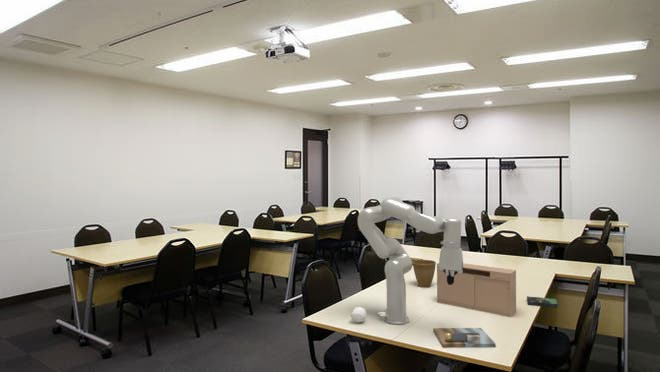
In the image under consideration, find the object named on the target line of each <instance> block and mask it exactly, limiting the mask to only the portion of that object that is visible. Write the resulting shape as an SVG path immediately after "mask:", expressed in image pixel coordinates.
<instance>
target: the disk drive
mask: <svg viewBox="0 0 660 372" xmlns="http://www.w3.org/2000/svg"><path fill="white" fill-rule="evenodd" d="M526 302H527V306H531V307H532V306H534V307H545V308H552V309H554V308H555V309H558V308H559V304H558V301H557V299H556V298H549V297H548V298H547V297H537V296H528V295H527V296H526Z"/></svg>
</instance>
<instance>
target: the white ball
mask: <svg viewBox="0 0 660 372" xmlns="http://www.w3.org/2000/svg"><path fill="white" fill-rule="evenodd" d="M367 314H368V313H367V311H366V308H365V307H361V306H356V307H354V308H353V311H352V312H350V318H351V320H352V321H353V322H355V323H357V322H358V324H359V322H361V323H363V322H364V321H365V320H366V319H367Z"/></svg>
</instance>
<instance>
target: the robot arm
mask: <svg viewBox="0 0 660 372" xmlns="http://www.w3.org/2000/svg"><path fill="white" fill-rule="evenodd" d="M389 218H395V219H397V220H400V221H403V222H405V223H407V225H410V226H411V227H412V228H413V229H414V228H415V229H416V230H418V231H421V232H425V233H427V234H430V235H431V234H432V235H433V234H437V233H441V232H443V240H441V241H440V245H442V246H441V248H440V252H439V258H438V263H439V270H441V271H444V273H445V274H446V276H447V282H448V285H449V284H450V285H452V284H453V283H454V276H455V275H456V274H459V273H463V270H462V268H463V263H464V257H463V256H464V255H463V249H462V248H461V241H462V240H461V239H462V236H461V235H462V220H461V219H460V218H456V217H447V216H443V215H434V216H428V215H425V214H422V213H420V212H418V211H417V210H416V208H415V206H413V205H412V204H409V203H406V202H403V200H402V199H401V198H399V197H397V196H395V197H386V198H384V199H383V200H382V201H381V202H380V204H378V205H376V206H369V207H368V206H367V207H365V208H364V209H362V210H361V211H360V212H359V214H358V216H357V227H358V228H359V231H360V232H361V233H362V235H363V236H364V237H365V239H366V240H367V241H368V242H367V243H368V244H370V246H371V248H372V249H373V251H374V253H375V254H376V255H377V257H379V258H380V259H387V258H389V259H388V260H387V261H386V262H385V265H384V274H385V282H386V309H385V311H377V317H380V318H383V320H384V322H386V323H388V324H390V323H391V325H405V324H407V323H409V322H410V318H409V316H407V289H406V288H407V287H406V285H407V283H406V281H405V276H404V275H405V274H407V273H409V272H410V271H411V270H412V268H413V263H412V262H413V261H412V258H411V257H410V255H409V254H408V253H407V251H406V250H405V249H404V246H403V245H402V244H401V243H400V241H398V240H397V239H396V238H394V237H386V236H385V235H384V233H383V232H382V231H381V229H380V228H379V227H377V225H376V223H380V222H383V221H385V220H386V221H387V220H388V219H389ZM450 270H452V273H451V274H450Z"/></svg>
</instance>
